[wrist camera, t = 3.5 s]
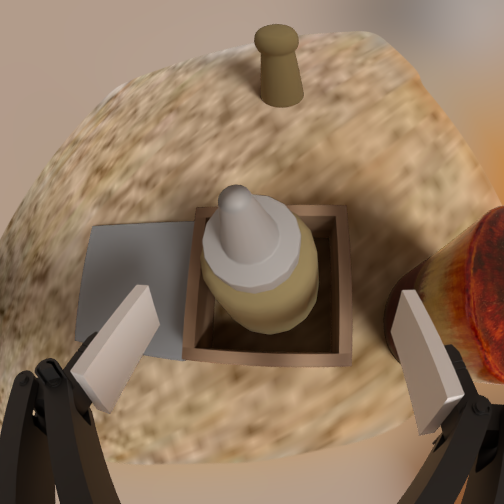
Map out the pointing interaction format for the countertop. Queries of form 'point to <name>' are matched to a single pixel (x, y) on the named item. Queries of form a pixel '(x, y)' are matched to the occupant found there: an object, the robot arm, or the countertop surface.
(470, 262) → the vase
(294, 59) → the cork
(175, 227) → the slate mat
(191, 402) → the countertop surface
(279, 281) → the squeeze bottle
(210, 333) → the bottle holder
